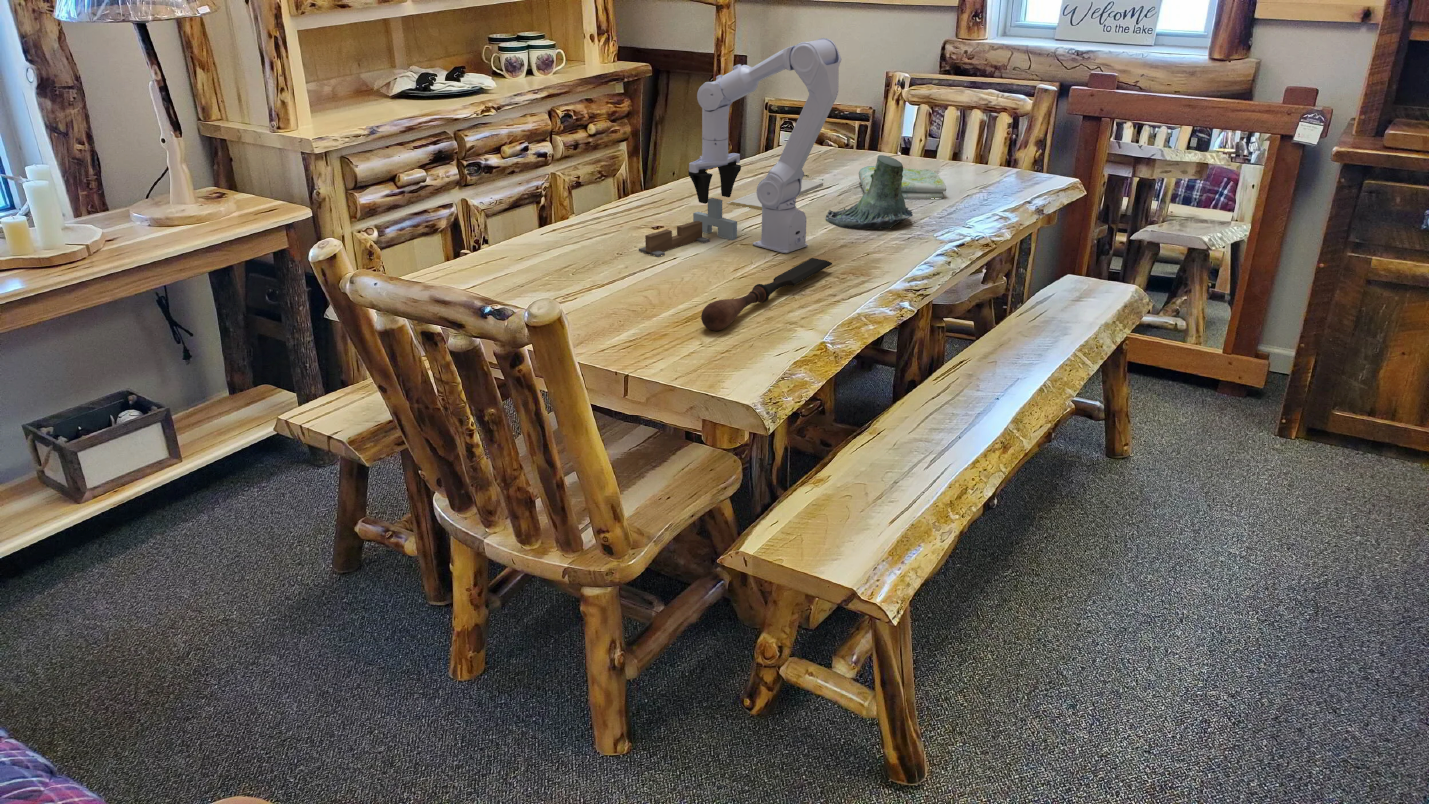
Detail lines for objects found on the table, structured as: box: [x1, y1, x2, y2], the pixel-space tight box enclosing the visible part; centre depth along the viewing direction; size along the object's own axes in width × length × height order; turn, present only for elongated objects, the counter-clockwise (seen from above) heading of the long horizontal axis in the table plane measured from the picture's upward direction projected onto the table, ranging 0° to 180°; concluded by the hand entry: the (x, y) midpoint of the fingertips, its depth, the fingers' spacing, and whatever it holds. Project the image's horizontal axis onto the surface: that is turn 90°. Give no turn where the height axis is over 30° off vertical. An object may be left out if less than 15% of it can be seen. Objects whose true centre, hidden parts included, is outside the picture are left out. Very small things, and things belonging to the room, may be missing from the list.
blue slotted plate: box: [692, 197, 738, 241], centre depth 231 cm, size 12×2×8 cm, turn 47°
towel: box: [858, 165, 947, 200], centre depth 269 cm, size 18×21×5 cm
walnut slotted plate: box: [638, 221, 711, 258], centre depth 223 cm, size 6×16×4 cm, turn 137°
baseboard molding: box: [726, 174, 824, 211], centre depth 266 cm, size 31×3×12 cm
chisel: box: [700, 257, 833, 332], centre depth 192 cm, size 5×43×5 cm, turn 147°
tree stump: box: [825, 154, 913, 230], centre depth 240 cm, size 18×20×18 cm
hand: (714, 199), depth 229 cm, fingers open, 7 cm apart
